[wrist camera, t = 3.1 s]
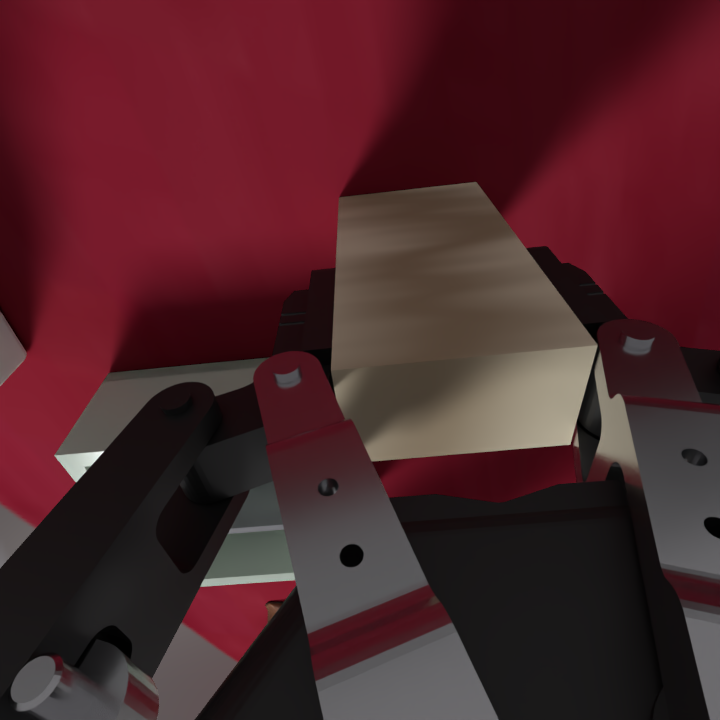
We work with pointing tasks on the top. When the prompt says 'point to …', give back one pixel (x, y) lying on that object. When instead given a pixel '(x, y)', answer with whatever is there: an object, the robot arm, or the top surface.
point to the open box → (260, 510)
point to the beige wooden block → (449, 329)
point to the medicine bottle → (9, 350)
